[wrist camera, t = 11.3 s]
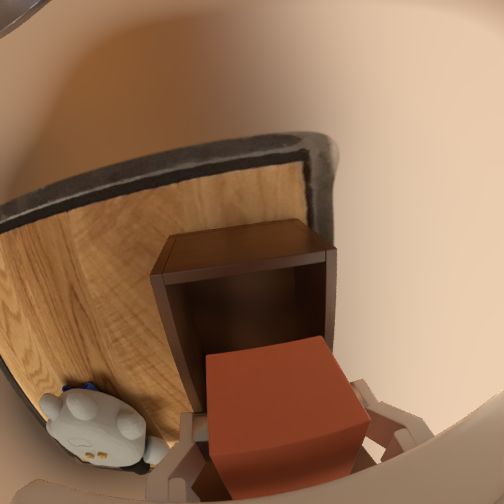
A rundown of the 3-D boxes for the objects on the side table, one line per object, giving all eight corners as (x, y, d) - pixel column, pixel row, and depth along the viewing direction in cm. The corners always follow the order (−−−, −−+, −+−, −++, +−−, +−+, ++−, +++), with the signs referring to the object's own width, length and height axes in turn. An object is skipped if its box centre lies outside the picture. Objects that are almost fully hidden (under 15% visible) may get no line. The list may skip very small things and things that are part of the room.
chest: (169, 235, 24) (149, 275, 16) (297, 218, 25) (337, 248, 17) (198, 362, 29) (198, 424, 21) (301, 346, 30) (327, 401, 22)
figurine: (28, 376, 27) (104, 446, 36) (9, 421, 19) (100, 484, 28) (116, 360, 27) (189, 438, 36) (103, 421, 20) (192, 484, 29)
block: (205, 354, 11) (209, 455, 6) (321, 334, 12) (372, 419, 7) (224, 422, 13) (234, 502, 8) (316, 405, 13) (348, 478, 9)
